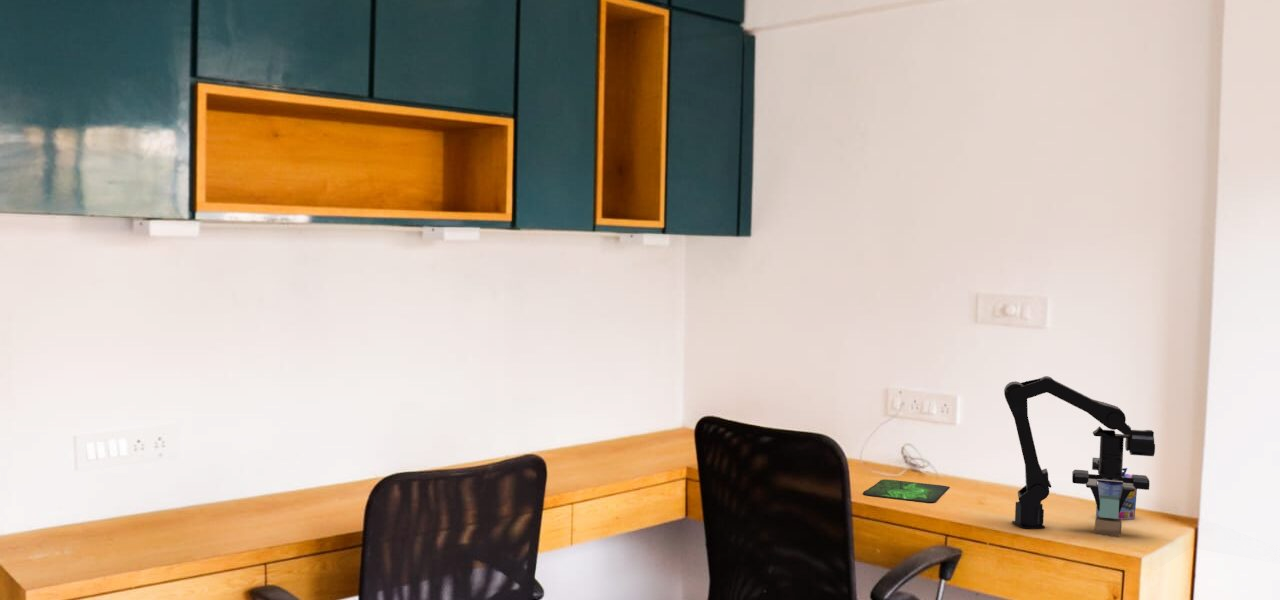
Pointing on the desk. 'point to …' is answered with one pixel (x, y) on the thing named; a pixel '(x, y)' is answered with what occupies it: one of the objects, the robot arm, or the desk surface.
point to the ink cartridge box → (1114, 490)
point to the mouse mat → (907, 491)
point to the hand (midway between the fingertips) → (1108, 511)
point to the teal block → (1109, 506)
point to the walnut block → (1108, 526)
